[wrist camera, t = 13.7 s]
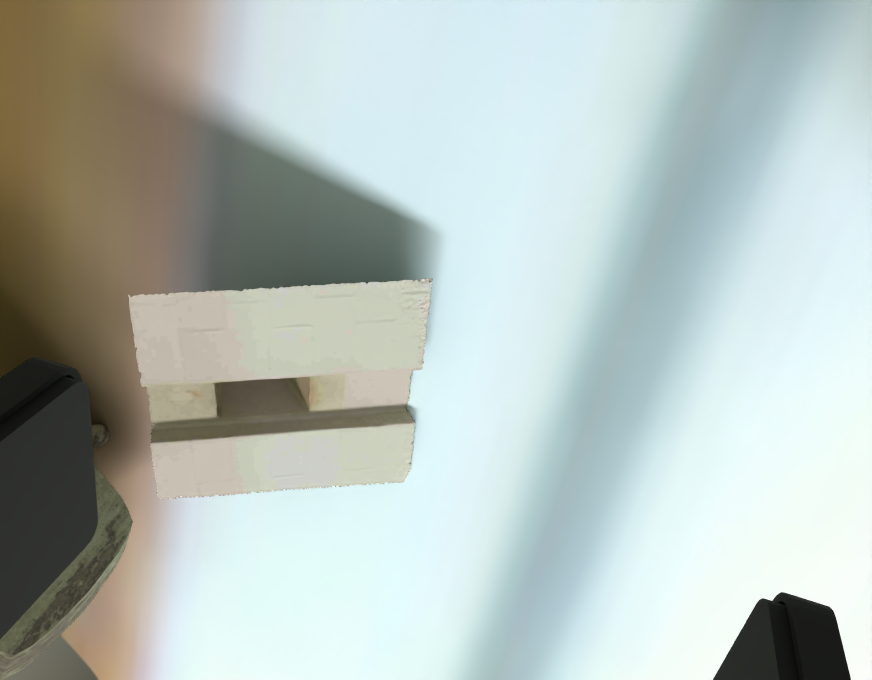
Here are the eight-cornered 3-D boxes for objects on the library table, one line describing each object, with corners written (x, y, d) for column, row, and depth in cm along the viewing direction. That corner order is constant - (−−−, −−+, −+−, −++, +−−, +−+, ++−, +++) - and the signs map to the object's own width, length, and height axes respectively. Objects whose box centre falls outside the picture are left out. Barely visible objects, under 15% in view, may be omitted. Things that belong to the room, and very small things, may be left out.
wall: (375, 192, 45) (103, 227, 40) (438, 274, 40) (131, 330, 34) (360, 393, 56) (143, 445, 50) (408, 482, 50) (170, 552, 44)
